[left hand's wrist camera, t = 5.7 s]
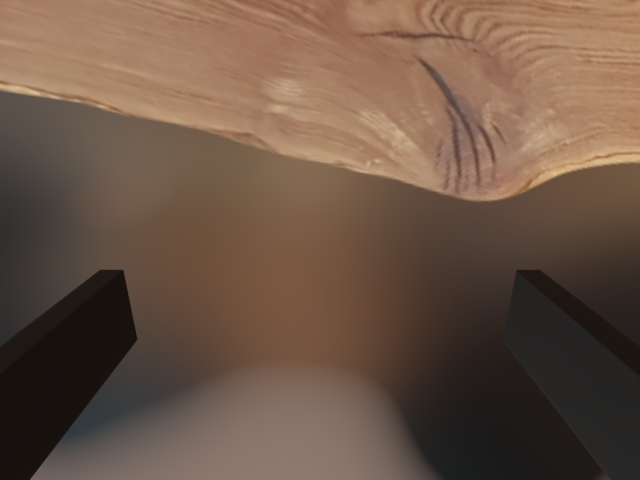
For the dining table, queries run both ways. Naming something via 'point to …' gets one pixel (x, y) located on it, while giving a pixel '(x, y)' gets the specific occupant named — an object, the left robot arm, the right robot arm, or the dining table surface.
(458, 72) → the dining table surface
